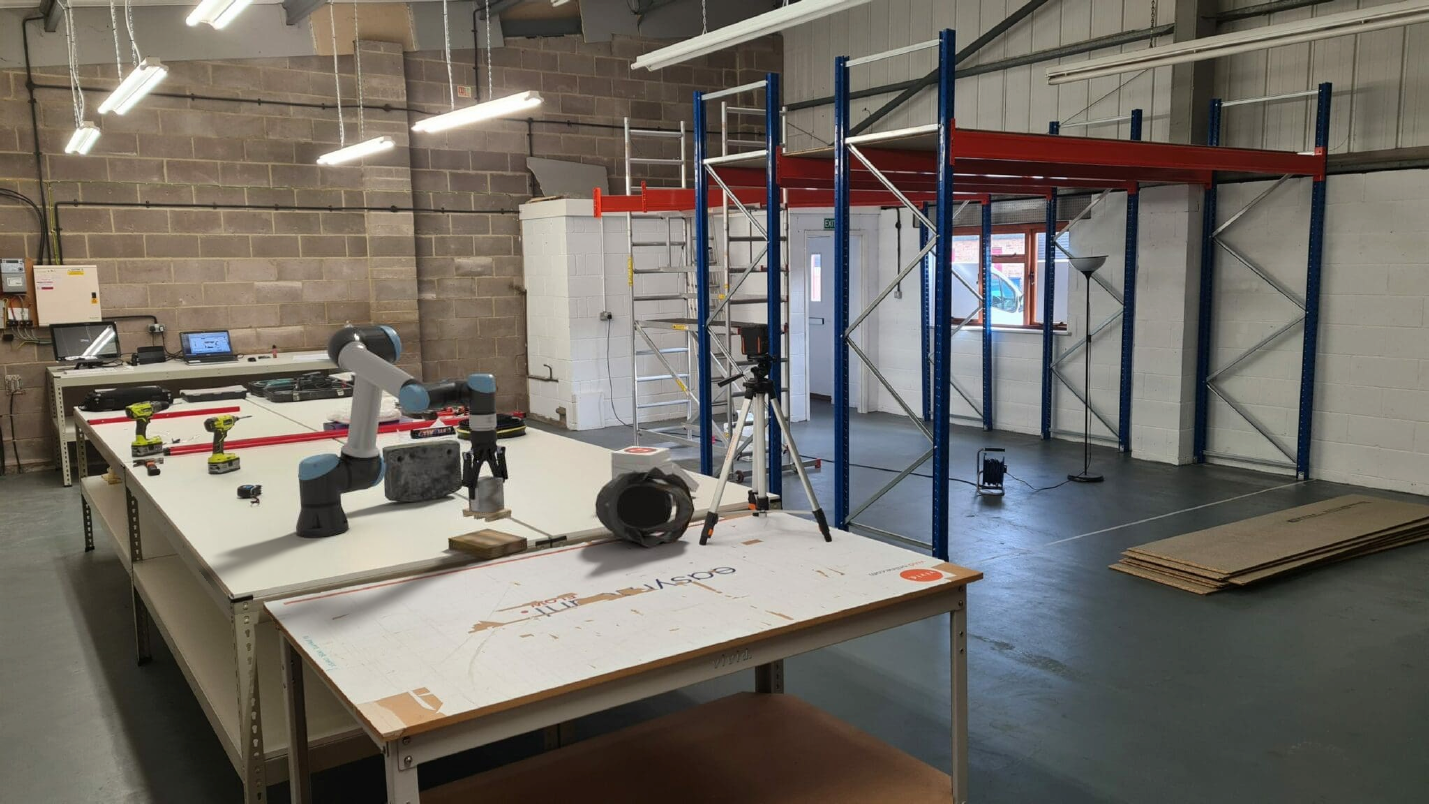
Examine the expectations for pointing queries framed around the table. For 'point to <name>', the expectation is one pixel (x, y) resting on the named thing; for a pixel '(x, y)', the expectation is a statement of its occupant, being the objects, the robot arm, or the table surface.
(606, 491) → the helmet
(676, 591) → the table surface
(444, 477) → the concrete block
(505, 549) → the dock
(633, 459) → the pizza boxes
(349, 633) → the table surface
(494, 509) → the block
